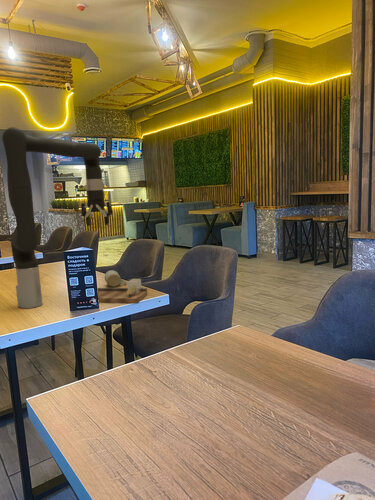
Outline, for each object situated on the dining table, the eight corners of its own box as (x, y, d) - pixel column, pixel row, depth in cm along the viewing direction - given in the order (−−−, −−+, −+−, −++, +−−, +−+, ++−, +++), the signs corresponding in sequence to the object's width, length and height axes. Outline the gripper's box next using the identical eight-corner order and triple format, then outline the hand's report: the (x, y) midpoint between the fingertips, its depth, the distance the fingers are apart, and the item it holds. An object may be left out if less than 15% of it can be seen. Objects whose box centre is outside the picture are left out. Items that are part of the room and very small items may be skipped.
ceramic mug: (107, 288, 195) (106, 273, 194) (104, 285, 203) (103, 270, 202) (128, 286, 199) (127, 271, 198) (124, 283, 207) (123, 268, 206)
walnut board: (85, 302, 170) (85, 295, 170) (99, 294, 184) (99, 287, 183) (137, 303, 165) (136, 296, 164) (147, 294, 178) (147, 288, 178)
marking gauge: (124, 297, 167) (123, 284, 167) (133, 291, 178) (132, 278, 177) (133, 297, 167) (132, 284, 166) (141, 291, 177) (140, 278, 176)
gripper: (113, 188, 176) (115, 224, 178) (84, 190, 179) (87, 225, 182) (106, 188, 169) (108, 225, 171) (76, 190, 172) (79, 226, 174)
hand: (97, 225), depth 176 cm, fingers open, 8 cm apart
